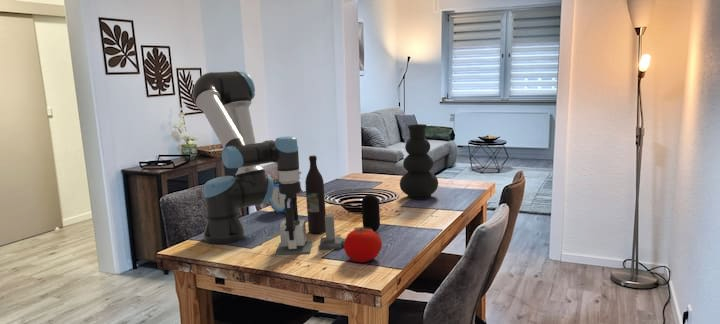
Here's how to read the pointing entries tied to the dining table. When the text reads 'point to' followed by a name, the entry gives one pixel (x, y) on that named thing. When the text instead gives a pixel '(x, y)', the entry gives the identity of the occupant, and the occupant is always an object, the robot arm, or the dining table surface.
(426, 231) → the dining table surface
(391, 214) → the dining table surface
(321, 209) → the wine bottle
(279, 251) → the rubber mat
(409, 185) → the vase
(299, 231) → the white block
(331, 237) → the post
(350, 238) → the tomato
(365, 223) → the decorative object
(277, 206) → the alarm clock
